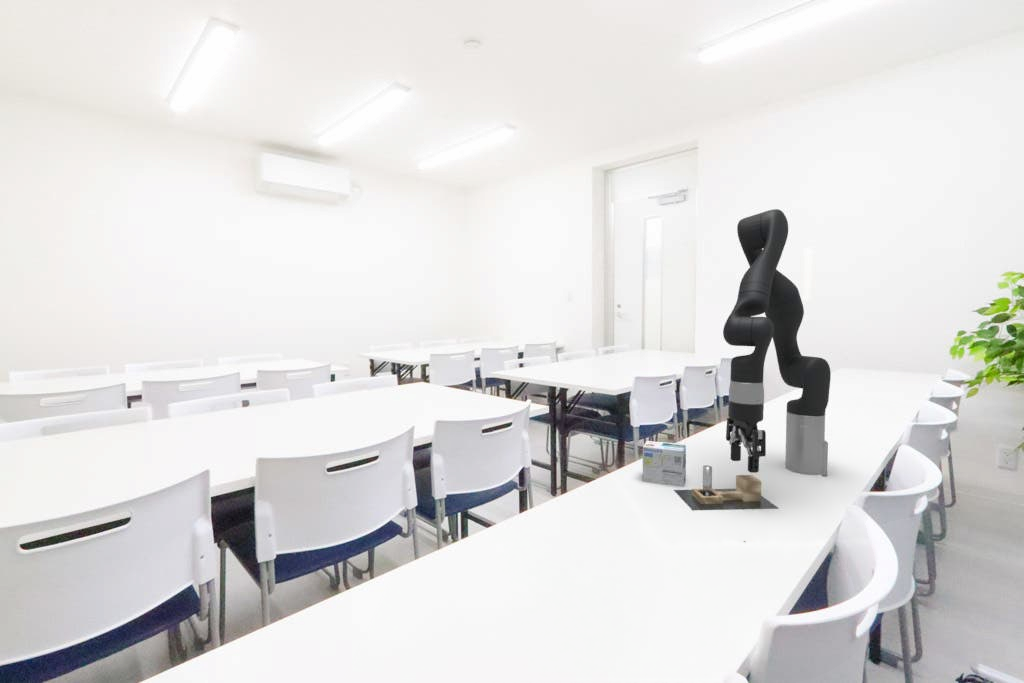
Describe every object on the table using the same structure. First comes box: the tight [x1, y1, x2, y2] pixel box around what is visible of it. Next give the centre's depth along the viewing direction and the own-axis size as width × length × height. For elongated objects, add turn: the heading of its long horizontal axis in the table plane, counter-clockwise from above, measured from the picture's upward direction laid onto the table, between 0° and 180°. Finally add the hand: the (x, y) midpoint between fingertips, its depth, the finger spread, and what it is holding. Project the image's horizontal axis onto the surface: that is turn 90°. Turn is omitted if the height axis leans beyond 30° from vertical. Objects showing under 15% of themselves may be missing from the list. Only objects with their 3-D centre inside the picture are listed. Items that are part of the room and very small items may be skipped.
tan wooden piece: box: [691, 474, 762, 504], centre depth 112 cm, size 15×5×5 cm, turn 91°
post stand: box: [673, 464, 780, 511], centre depth 112 cm, size 20×12×9 cm, turn 91°
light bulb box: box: [642, 440, 687, 488], centre depth 125 cm, size 11×7×11 cm, turn 65°
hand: (743, 466), depth 112 cm, fingers open, 8 cm apart
